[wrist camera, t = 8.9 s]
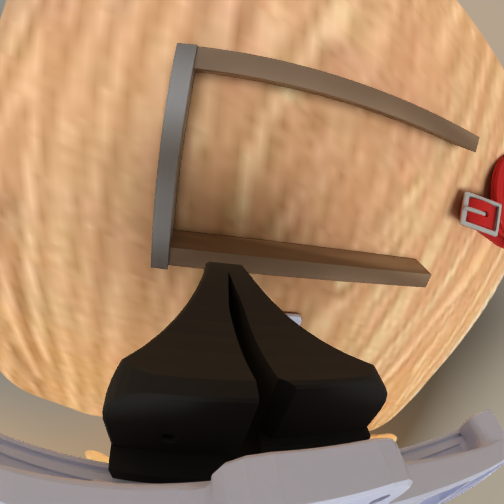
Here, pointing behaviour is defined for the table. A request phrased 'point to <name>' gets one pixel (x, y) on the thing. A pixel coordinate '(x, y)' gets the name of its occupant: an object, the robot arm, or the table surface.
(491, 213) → the tracker holder
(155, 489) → the robot arm
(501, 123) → the table surface
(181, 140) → the frame
